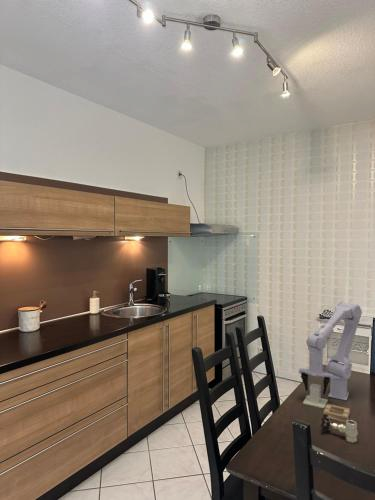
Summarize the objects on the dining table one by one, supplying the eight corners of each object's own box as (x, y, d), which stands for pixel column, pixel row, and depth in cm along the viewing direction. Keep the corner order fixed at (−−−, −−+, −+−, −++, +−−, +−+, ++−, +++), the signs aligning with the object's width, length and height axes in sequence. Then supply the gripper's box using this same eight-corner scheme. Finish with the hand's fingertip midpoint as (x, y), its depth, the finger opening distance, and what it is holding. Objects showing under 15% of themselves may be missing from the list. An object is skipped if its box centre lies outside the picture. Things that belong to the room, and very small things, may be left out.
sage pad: (307, 396, 164) (307, 395, 164) (327, 400, 159) (327, 399, 159) (302, 403, 156) (302, 402, 156) (324, 408, 151) (324, 407, 151)
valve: (359, 438, 128) (326, 427, 136) (359, 420, 128) (326, 410, 136) (354, 446, 123) (320, 434, 131) (355, 427, 123) (320, 416, 131)
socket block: (327, 408, 152) (327, 403, 152) (349, 413, 147) (349, 408, 147) (323, 416, 144) (323, 412, 144) (347, 422, 139) (347, 417, 139)
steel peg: (311, 398, 160) (311, 383, 160) (320, 400, 158) (321, 385, 158) (309, 401, 157) (309, 386, 157) (319, 403, 155) (319, 388, 155)
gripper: (297, 361, 158) (297, 391, 158) (331, 367, 150) (331, 398, 150) (300, 357, 164) (300, 386, 164) (334, 362, 156) (333, 393, 156)
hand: (315, 391), depth 158 cm, fingers open, 7 cm apart
